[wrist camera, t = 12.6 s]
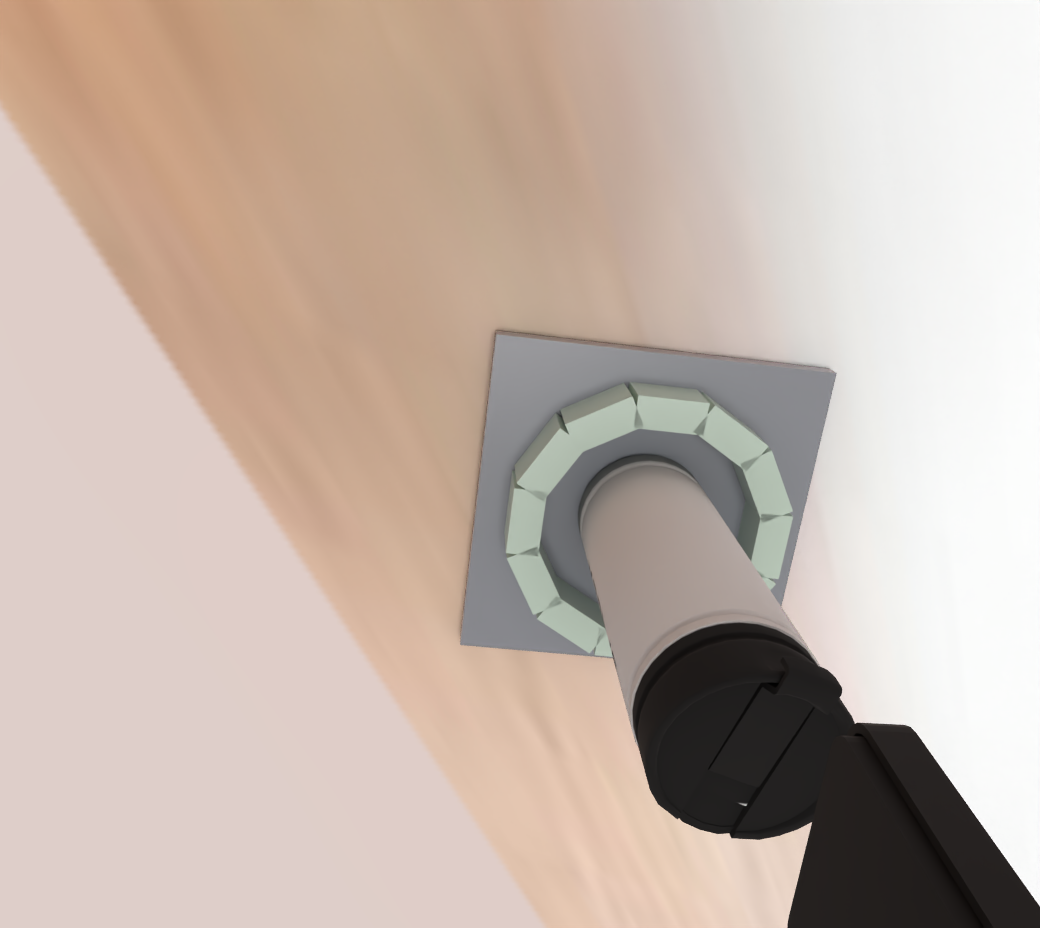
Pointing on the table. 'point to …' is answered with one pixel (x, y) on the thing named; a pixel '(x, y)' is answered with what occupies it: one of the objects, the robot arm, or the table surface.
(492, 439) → the cup dock
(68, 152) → the table surface
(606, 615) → the travel mug
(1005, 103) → the table surface
